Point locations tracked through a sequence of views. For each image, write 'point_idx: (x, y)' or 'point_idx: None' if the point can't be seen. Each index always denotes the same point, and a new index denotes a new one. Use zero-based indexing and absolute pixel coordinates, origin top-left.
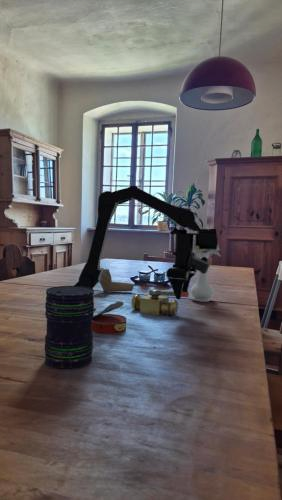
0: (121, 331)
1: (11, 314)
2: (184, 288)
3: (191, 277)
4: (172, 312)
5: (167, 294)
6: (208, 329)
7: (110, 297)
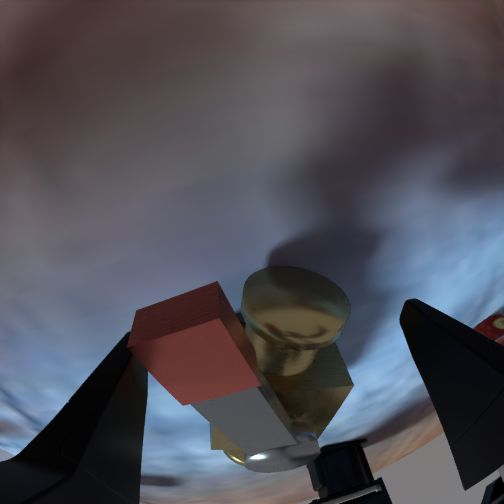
0: (501, 316)
1: (387, 463)
2: (137, 389)
3: (38, 478)
4: (330, 283)
5: (280, 409)
6: (459, 55)
7: (153, 471)
